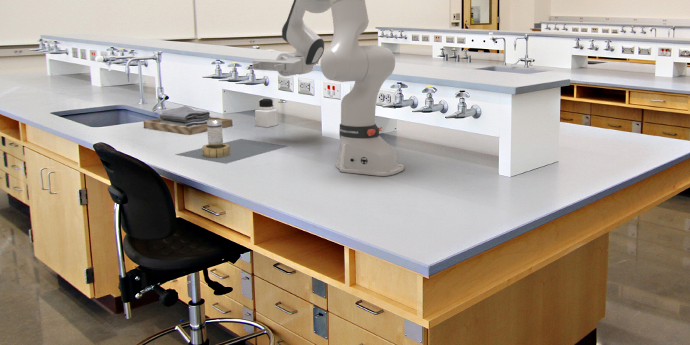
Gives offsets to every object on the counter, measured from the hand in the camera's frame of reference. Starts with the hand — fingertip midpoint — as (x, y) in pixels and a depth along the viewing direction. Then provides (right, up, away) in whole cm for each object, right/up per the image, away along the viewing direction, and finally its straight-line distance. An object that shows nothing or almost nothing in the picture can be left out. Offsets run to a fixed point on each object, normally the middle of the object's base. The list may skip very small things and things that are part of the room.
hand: (263, 66), depth 225 cm
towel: (-41, -18, +50) cm, 67 cm away
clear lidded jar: (-15, -32, -9) cm, 37 cm away
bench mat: (-11, -31, -1) cm, 33 cm away
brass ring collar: (-15, -32, -9) cm, 37 cm away
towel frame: (-39, -19, +47) cm, 64 cm away
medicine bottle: (-5, -18, +51) cm, 54 cm away
